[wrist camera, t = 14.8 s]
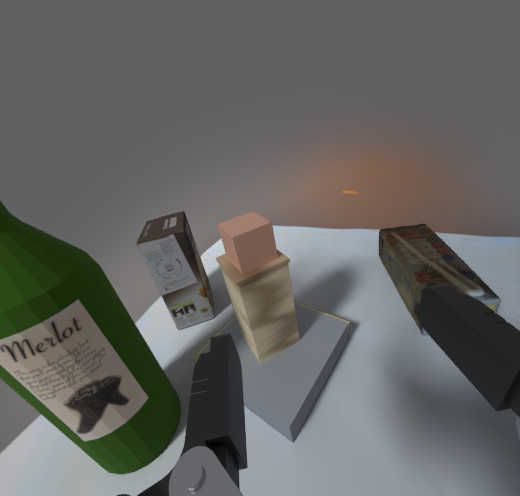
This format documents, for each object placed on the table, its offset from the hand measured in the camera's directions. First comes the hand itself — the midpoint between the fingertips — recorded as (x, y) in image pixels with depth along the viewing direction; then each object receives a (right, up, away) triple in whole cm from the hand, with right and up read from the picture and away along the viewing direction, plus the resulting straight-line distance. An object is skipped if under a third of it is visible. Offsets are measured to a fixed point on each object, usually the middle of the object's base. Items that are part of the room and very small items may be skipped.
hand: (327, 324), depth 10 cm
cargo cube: (-4, +2, +16) cm, 16 cm away
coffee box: (-14, -7, +34) cm, 38 cm away
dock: (-1, -11, +22) cm, 25 cm away
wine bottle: (-16, -17, +18) cm, 29 cm away
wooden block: (-2, -8, +21) cm, 23 cm away
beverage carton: (+22, -3, +29) cm, 36 cm away
